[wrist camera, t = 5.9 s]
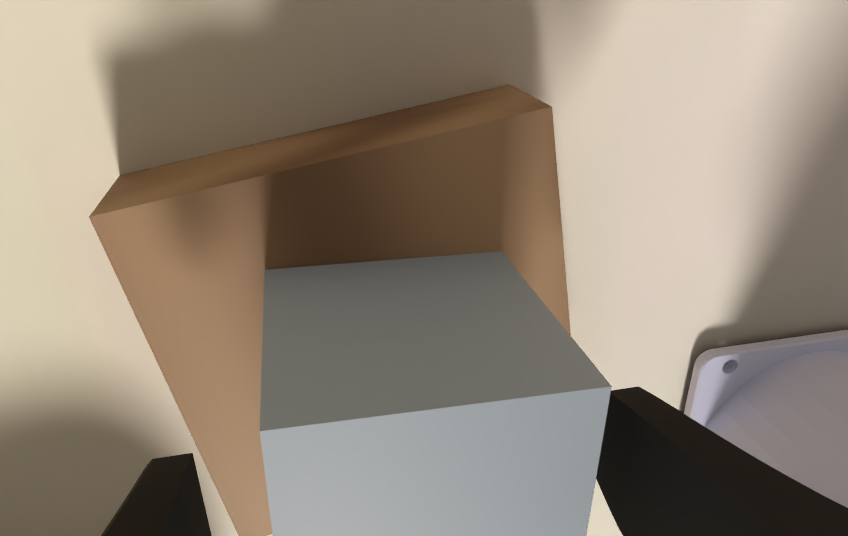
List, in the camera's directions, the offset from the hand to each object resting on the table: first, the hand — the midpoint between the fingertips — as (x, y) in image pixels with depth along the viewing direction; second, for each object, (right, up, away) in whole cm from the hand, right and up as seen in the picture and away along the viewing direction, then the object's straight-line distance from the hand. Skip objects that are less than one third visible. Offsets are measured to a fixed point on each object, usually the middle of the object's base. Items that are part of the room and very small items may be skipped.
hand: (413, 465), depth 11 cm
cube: (-1, +1, +3) cm, 4 cm away
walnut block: (-1, +3, +6) cm, 7 cm away
